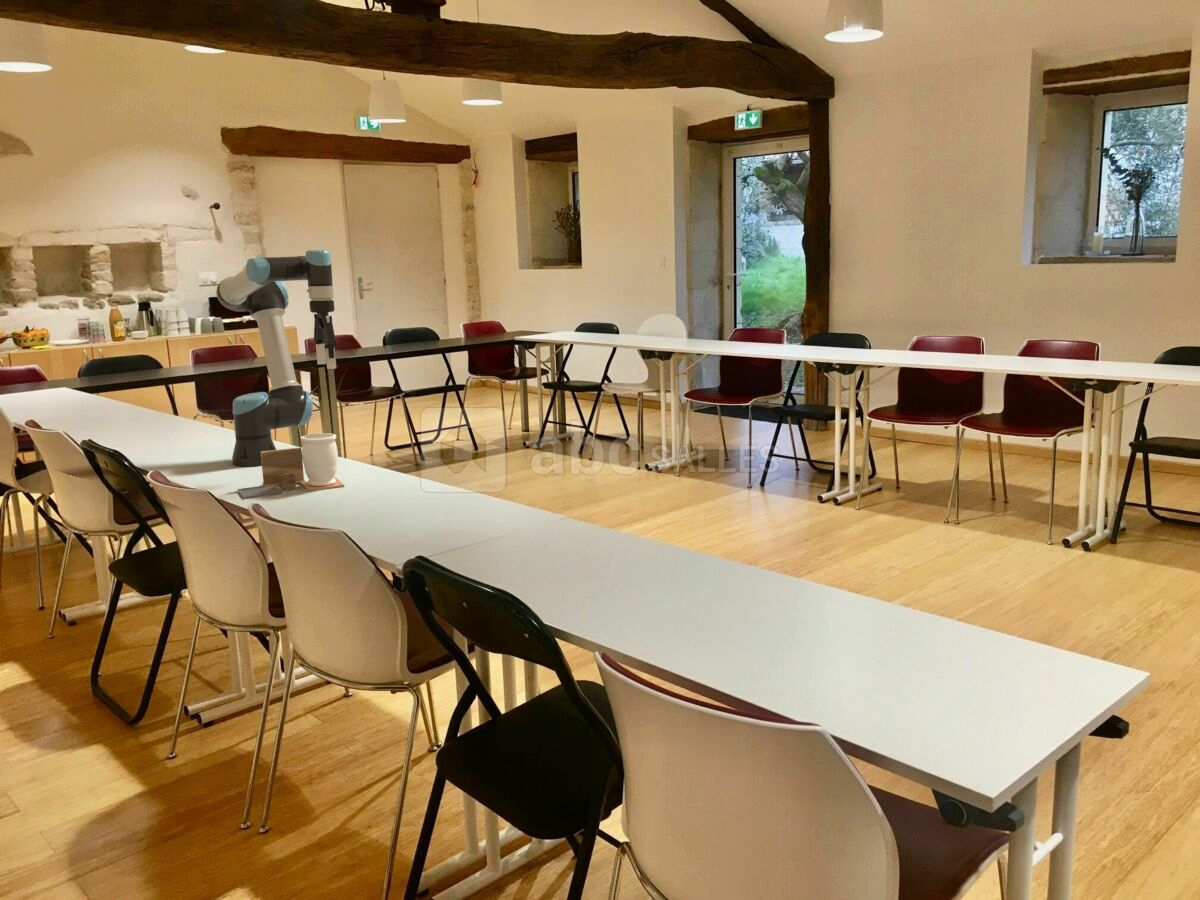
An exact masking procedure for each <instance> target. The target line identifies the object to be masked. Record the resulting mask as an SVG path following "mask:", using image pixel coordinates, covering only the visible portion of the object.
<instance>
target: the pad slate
mask: <svg viewBox="0 0 1200 900" xmlns="http://www.w3.org/2000/svg"><path fill="white" fill-rule="evenodd" d="M236 491H237V492H238V493H239V496H241V498H242V499H243V500H244V499H245V500H246V499H252V498H253V499H254V498H261V497H262V498H263V497H269V496H277V495H282V494H283V493H282V490H281V489H280V488H279V487H277V486H276V485H275V486H267V487H265V486H263V485H259V486H253V487H252V486H251V487H244V488H242V487H241V488H237V489H236Z"/></svg>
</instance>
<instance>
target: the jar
mask: <svg viewBox="0 0 1200 900" xmlns="http://www.w3.org/2000/svg"><path fill="white" fill-rule="evenodd" d="M336 439H337V435H336V434H335V433H330V432H329V433H327V432H326V433H325V432H321V433H320V432H319V433H309V434H305V435H303V436H302V435H301V437H300V441H301V442H302V447H301V450H302V462H303V469H304V472H305V474H306V476H307V478H308V480H307V481H308V484H309V485H311V486H327V485H331V484H334V483H336V480H335V478H336V477H335V476H336V474H337V471H338V470H337V469H338V459H339V458H338V456H339V453H338V446H337V443H336Z"/></svg>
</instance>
